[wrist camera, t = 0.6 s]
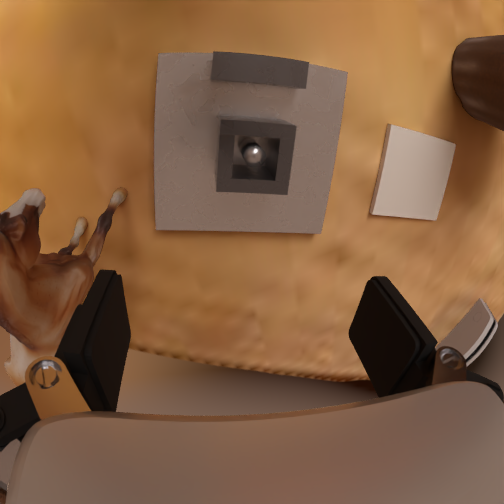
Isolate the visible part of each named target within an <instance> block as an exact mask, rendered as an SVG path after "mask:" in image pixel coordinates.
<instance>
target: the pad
mask: <svg viewBox="0 0 504 504" xmlns="http://www.w3.org/2000/svg"><path fill="white" fill-rule="evenodd" d="M455 147H456V144H454V143H451V142H448V141H445V140H442V139H439V138H436V137H433V136H430V135H427V134H423V133H420V132H417V131H413V130H410V129H406V128H403V127H399V126H395V125H391V124H388V125H387V131H386V136H385V142H384V147H383V152H382V157H381V162H380V167H379V172H378V177H377V181H376V186H375V190H374V194H373V199H372V203H371V207H370V211H369V212H370V213H371V214H372V215H383V216H395V217H405V218H416V219H425V220H435V221H436V219H437V216H438V213H439V210H440V206H441V203H442V199H443V196H444V192H445V189H446V185H447V181H448V177H449V173H450V169H451V165H452V161H453V156H454V152H455Z"/></svg>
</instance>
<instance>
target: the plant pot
mask: <svg viewBox="0 0 504 504" xmlns="http://www.w3.org/2000/svg"><path fill="white" fill-rule="evenodd" d="M452 75H453V83H454V87H455V91H456V94H457V95H458V96H459V98H460V99H461V101H462V104H463V107H464V109H465V110H466V111H467V112H468V113H469V114H470V115H471V116H472V117H474V118H475V119H477V120H480V121H483V122H485V123H487V124H489V125H492V126H494V127H496V128H498V129H500V130H502V131H504V35H497V36H486V37H476V38H468V39H465V41H463V42H462V43H461V44H460V45H458V46H457V48H456V50H455V53H454V57H453V64H452Z"/></svg>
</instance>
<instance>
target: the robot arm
mask: <svg viewBox="0 0 504 504" xmlns="http://www.w3.org/2000/svg"><path fill="white" fill-rule="evenodd" d="M130 338H131V331H130V325H129V320H128V315H127V309H126V303H125V297H124V290H123V283H122V277H121V275H117V273H116V271H115V270H100V271H99V273H98V274H97V276H96V278H95V280H94V282H93V284H92V286H91V288H90V290H89V292H88V295H87V297H86V299H85V301H84V303H83V304H79V305H78V306H77V307H76V309H75V311H74V313H73V315H72V317H71V319H70V322H69V324H68V326H67V328H66V330H65V333H64V335H63V337H62V339H61V342H60V344H59V346H58V349H57V351H56V354H55V356H54V357H53V356H43V357H40V358H37V359H36V360H34V361H32V363H31V364H30V365H29V366H28V367H27V369H26V372H25V383H23V384H21V385H19V386H18V387H16V388H14V389H12V390H10V391H8V392H6V393H4V394H2V395H1V396H0V504H504V396H503V392H502V390H501V388H500V386H499V385H498V384H497V383H495V382H493V381H491V380H489V379H487V378H485V377H482V376H480V375H478V374H476V373H473V372H471V371H469V370H467V369H466V368H467V364H466V360H465V358H464V356H463V355H462V354H461V353H460V352H459V351H458V350H456V349H454V348H453V347H449V346H442V347H440V348H438V349H437V350H436V349H435V346H436V344H437V343H438V342H437V340H436V339H435V338H434V336H433V335H432V334H431V332H430V331H429V330H428V328H427V327H426V326H425V324H424V323H423V322H422V320H421V319H420V318H419V316H418V315H417V314H416V313H415V311H414V310H413V309H412V307H411V306H410V305H409V304H408V302H407V301H406V300H405V299H404V297H403V296H402V295H401V294H400V292H399V291H398V290H397V289H396V287H395V286H394V285H393V284H392V283H391V281H390V280H389V279H388V278H387V277H385V276H374V277H372V278H371V279H370V280H368V282H367V284H366V286H365V289H364V292H363V295H362V298H361V300H360V303H359V306H358V308H357V311H356V314H355V316H354V319H353V321H352V324H351V326H350V329H349V338H350V340H351V342H352V344H353V346H354V348H355V350H356V352H357V354H358V356H359V358H360V360H361V362H362V364H363V366H364V368H365V370H366V372H367V374H368V376H369V378H370V380H371V382H372V384H373V386H374V388H375V391H376V393H377V395H378V396H379V398H376V399H371V400H366V401H361V402H355V403H350V404H344V405H337V406H331V407H324V408H317V409H309V410H301V411H291V412H281V413H269V414H254V415H230V416H183V415H153V414H138V413H123V412H116V408H117V402H118V396H119V391H120V386H121V380H122V375H123V371H124V366H125V361H126V357H127V352H128V348H129V343H130ZM8 483H9V485H8ZM7 485H8V490H7Z"/></svg>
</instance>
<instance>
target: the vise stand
mask: <svg viewBox="0 0 504 504" xmlns="http://www.w3.org/2000/svg"><path fill="white" fill-rule="evenodd" d="M347 74H348V72H345V71H341V70H336V69H332V68H327V67H322V66H317V65H312V64H309V62H305V61H299V60H293V59H287V58H280V57H273V56H264V55H255V54H245V53H232V52H214V51H213V53H159V55H158V67H157V81H156V98H155V124H154V194H155V221H156V230H195V231H244V232H280V233H311V234H321V231H322V226H323V221H324V216H325V211H326V206H327V201H328V196H329V191H330V185H331V180H332V175H333V169H334V163H335V157H336V151H337V145H338V139H339V133H340V126H341V119H342V113H343V105H344V98H345V91H346V83H347ZM219 115H233V116H248V117H261V118H271V119H281V120H285V121H287V122H289V123H292V124H294V125H296V126H297V128H296V136H295V143H294V151H293V159H292V166H291V173H290V180H289V188H288V195H276V194H257V193H233V192H216V182H215V168H216V152H217V137H218V123H219ZM267 144H268V137H257V136H243V135H235V143H234V155H233V164H237V165H248V166H250V167H259V166H265V162H266V153H267Z"/></svg>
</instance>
